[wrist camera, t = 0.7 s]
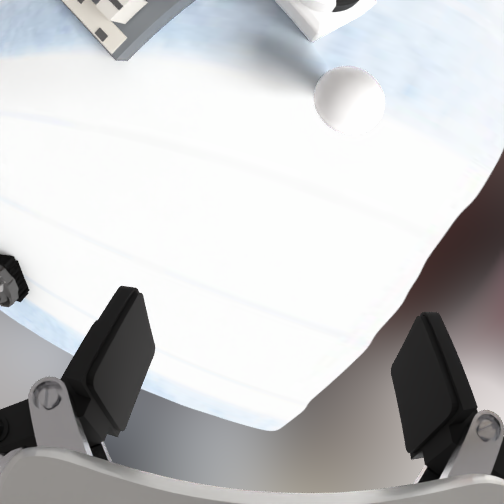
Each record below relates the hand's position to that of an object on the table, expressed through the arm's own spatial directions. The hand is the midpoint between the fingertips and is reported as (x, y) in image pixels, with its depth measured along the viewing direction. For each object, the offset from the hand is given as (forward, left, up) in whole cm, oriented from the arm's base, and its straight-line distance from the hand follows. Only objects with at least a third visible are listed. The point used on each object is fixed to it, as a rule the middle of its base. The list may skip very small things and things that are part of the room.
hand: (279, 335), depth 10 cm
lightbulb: (-8, -2, -29) cm, 30 cm away
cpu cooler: (+57, -16, -29) cm, 66 cm away
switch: (+2, -25, -25) cm, 35 cm away
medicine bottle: (-13, -12, -29) cm, 34 cm away
